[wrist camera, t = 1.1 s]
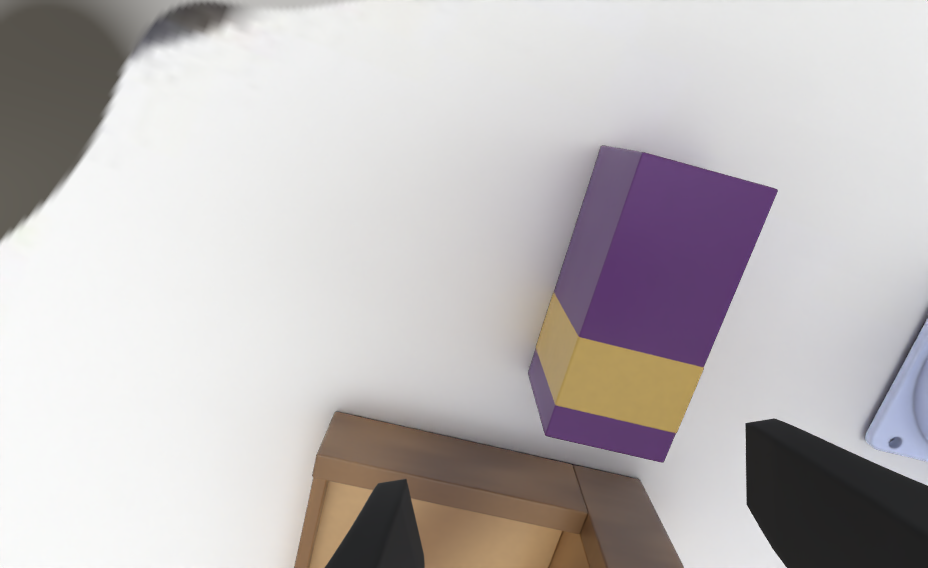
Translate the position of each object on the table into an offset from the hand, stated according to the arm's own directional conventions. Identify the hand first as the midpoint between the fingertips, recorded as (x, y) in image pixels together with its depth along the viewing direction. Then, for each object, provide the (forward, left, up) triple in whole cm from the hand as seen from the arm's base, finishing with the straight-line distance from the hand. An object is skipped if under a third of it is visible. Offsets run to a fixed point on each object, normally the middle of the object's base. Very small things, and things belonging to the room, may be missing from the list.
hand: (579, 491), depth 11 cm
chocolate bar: (-3, -3, -10) cm, 11 cm away
